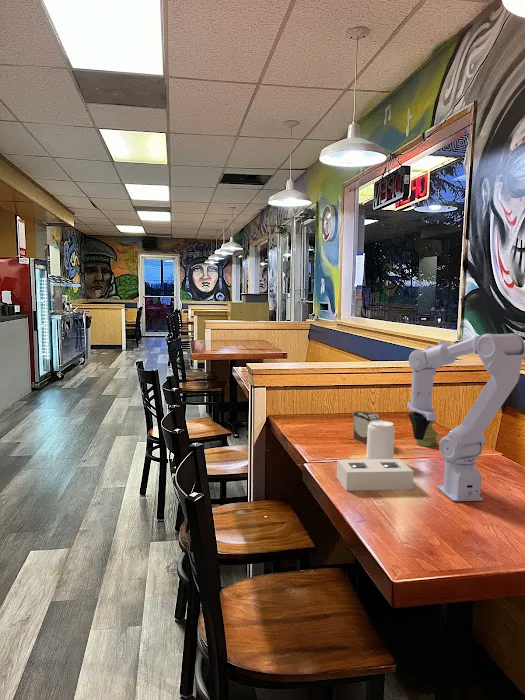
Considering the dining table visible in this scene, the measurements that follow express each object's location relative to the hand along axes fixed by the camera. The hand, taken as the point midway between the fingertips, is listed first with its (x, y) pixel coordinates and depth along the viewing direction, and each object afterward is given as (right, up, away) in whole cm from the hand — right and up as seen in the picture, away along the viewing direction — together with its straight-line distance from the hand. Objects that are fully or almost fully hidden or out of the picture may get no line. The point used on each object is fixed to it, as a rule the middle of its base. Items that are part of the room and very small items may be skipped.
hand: (418, 438), depth 143 cm
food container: (-8, -7, +32) cm, 34 cm away
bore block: (-14, -11, -7) cm, 19 cm away
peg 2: (-10, -10, -6) cm, 16 cm away
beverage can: (-8, -9, +12) cm, 17 cm away
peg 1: (-19, -10, -7) cm, 23 cm away
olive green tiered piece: (+13, -8, +31) cm, 35 cm away
